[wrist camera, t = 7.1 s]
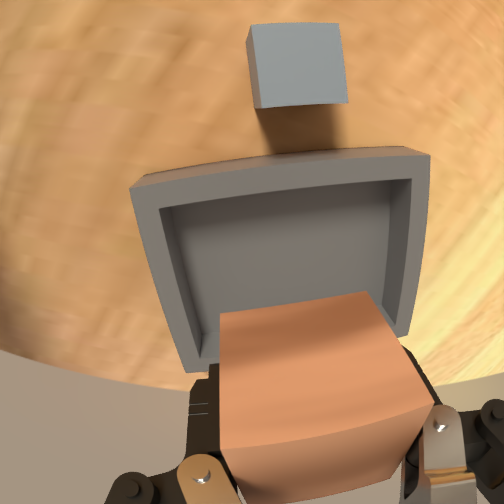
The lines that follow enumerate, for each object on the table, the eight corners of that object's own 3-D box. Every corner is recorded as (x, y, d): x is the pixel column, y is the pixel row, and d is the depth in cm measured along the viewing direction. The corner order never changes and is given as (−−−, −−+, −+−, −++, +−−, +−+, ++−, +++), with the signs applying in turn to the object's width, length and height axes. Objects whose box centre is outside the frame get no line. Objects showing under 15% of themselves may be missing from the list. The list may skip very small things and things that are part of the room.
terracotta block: (219, 313, 10) (220, 449, 6) (366, 290, 10) (434, 402, 6) (241, 402, 12) (249, 507, 8) (354, 383, 12) (390, 478, 8)
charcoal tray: (144, 174, 22) (129, 188, 18) (402, 146, 22) (430, 155, 18) (189, 342, 29) (185, 373, 25) (390, 310, 29) (407, 335, 25)
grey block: (245, 42, 18) (251, 24, 14) (315, 39, 18) (338, 23, 14) (254, 108, 20) (261, 108, 16) (323, 103, 20) (348, 103, 16)
